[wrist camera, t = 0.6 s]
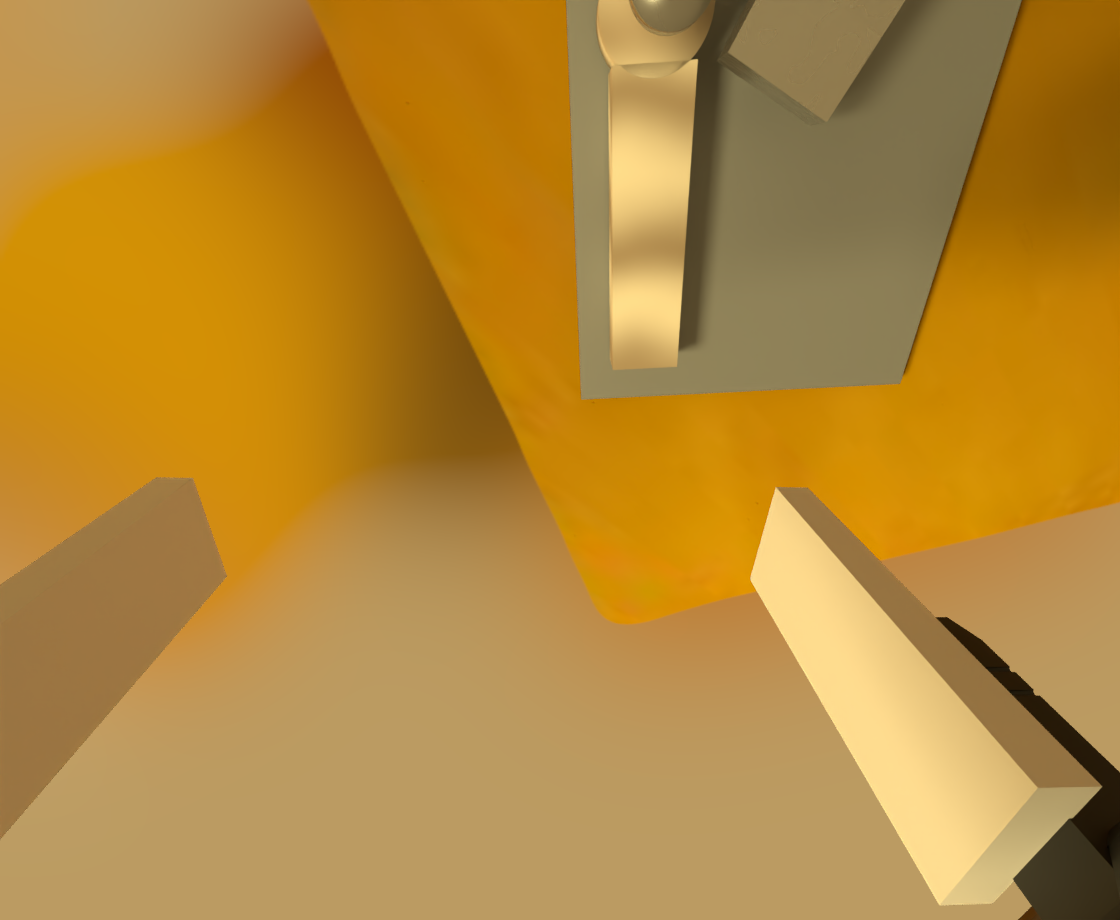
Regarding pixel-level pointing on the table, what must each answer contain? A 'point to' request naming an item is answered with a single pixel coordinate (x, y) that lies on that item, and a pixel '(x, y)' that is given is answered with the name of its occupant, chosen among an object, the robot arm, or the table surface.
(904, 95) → the base plate
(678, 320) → the link
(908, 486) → the table surface
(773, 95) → the beige block
